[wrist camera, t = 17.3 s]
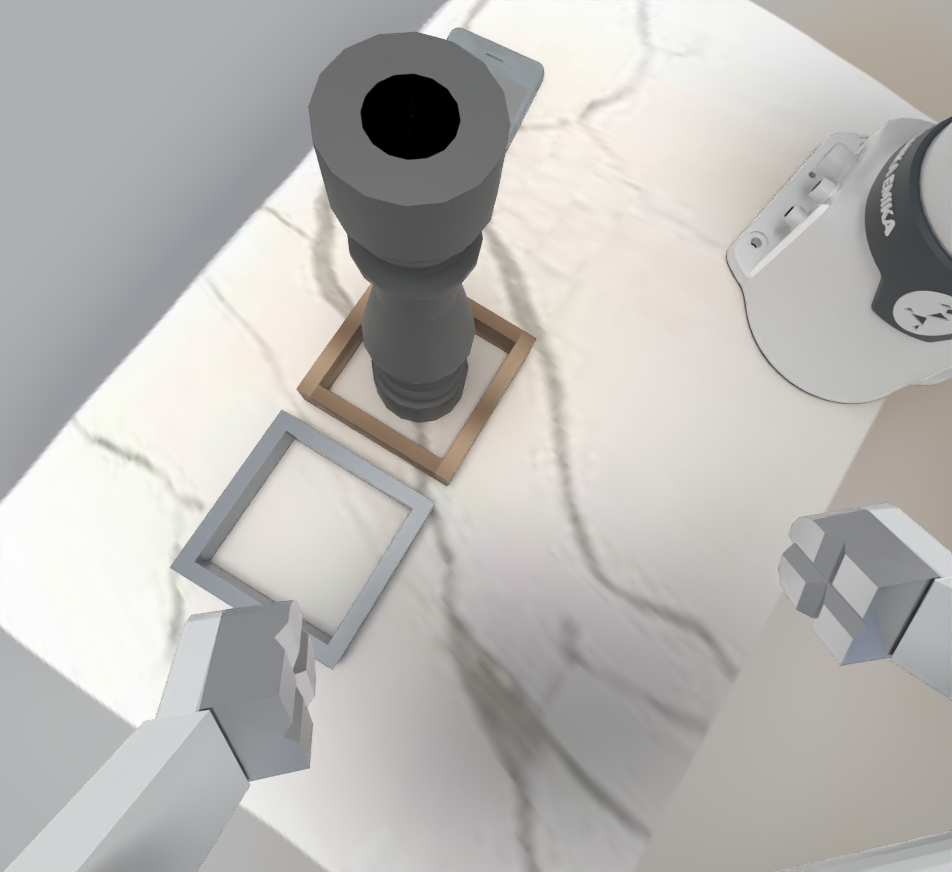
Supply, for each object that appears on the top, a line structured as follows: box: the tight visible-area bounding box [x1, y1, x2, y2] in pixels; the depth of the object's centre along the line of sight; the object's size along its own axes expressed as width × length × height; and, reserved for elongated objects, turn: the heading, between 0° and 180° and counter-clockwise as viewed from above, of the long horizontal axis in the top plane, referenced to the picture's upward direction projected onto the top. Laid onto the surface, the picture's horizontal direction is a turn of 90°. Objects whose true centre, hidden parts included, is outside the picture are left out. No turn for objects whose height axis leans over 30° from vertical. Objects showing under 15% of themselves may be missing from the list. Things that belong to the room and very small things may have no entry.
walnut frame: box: [297, 283, 536, 486], centre depth 40 cm, size 11×11×2 cm
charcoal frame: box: [170, 410, 435, 670], centre depth 37 cm, size 11×11×2 cm
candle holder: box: [309, 32, 511, 422], centre depth 29 cm, size 6×6×25 cm
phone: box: [447, 28, 544, 153], centre depth 45 cm, size 8×16×1 cm, turn 156°
